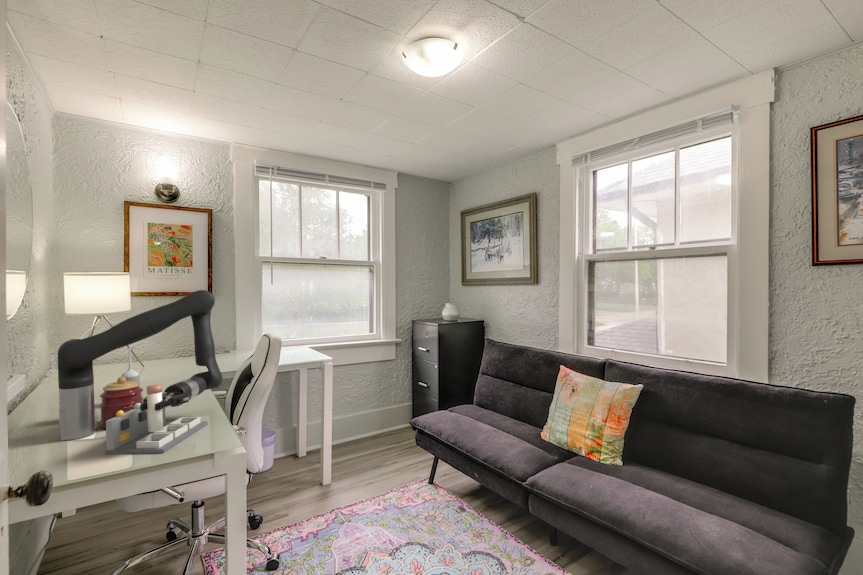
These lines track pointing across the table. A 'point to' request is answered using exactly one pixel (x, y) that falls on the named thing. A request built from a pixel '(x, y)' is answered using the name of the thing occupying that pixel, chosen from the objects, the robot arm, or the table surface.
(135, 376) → the long-necked bottle
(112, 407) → the canister
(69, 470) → the table surface
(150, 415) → the plug
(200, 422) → the breaker board
